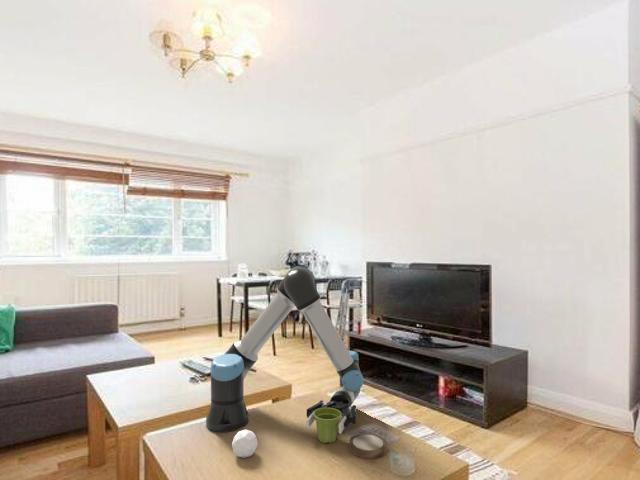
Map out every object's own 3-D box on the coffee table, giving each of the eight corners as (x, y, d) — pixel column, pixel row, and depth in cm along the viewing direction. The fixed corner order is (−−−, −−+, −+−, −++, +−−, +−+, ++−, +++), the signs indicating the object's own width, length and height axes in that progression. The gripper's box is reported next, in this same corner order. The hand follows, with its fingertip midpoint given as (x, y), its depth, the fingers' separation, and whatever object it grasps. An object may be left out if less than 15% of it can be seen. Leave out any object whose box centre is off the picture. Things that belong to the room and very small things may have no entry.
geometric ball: (249, 460, 128) (263, 436, 131) (245, 465, 121) (260, 439, 123) (229, 447, 130) (243, 423, 132) (224, 450, 122) (240, 425, 125)
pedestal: (374, 463, 122) (374, 456, 122) (341, 450, 129) (341, 443, 129) (393, 446, 131) (393, 440, 131) (362, 435, 139) (362, 429, 139)
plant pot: (325, 429, 143) (325, 405, 143) (346, 437, 137) (346, 412, 137) (307, 439, 136) (307, 414, 136) (329, 449, 130) (329, 422, 130)
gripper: (372, 414, 150) (357, 443, 129) (313, 406, 157) (291, 432, 137) (372, 394, 150) (357, 420, 129) (313, 386, 157) (291, 410, 136)
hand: (323, 426), depth 133 cm, fingers open, 10 cm apart
